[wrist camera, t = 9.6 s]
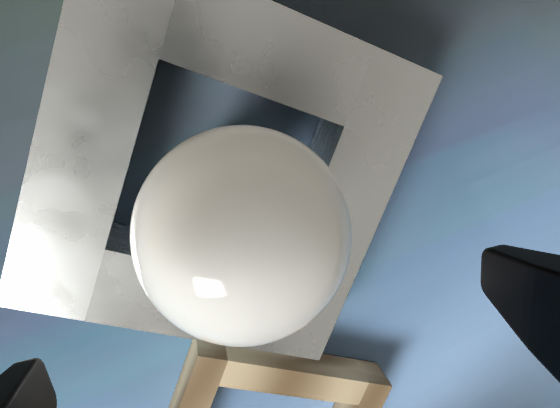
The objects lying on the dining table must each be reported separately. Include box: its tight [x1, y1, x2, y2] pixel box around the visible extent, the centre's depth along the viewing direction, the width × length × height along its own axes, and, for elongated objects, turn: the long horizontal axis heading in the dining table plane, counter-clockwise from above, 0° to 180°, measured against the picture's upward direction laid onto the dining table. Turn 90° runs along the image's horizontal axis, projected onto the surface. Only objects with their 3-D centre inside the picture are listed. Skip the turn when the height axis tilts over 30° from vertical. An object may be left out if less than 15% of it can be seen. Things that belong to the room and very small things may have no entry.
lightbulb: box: [130, 125, 352, 347], centre depth 15 cm, size 6×6×11 cm
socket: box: [0, 0, 443, 360], centre depth 19 cm, size 14×14×3 cm
